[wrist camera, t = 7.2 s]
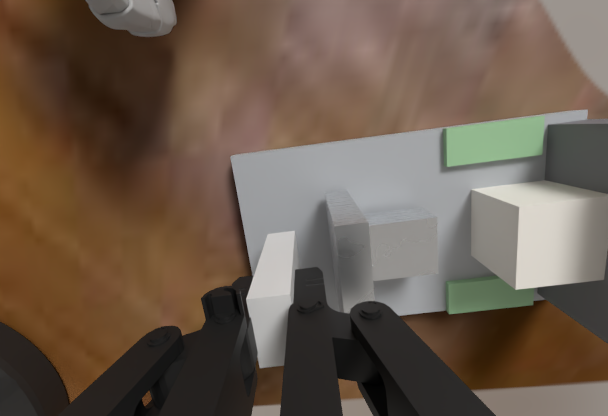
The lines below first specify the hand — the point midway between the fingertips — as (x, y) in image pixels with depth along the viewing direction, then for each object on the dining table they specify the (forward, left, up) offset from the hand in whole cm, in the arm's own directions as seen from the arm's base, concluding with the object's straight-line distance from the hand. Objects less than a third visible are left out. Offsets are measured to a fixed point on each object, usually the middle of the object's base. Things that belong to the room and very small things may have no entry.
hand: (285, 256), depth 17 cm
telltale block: (+13, 0, -2) cm, 13 cm away
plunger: (+5, 0, -1) cm, 5 cm away
